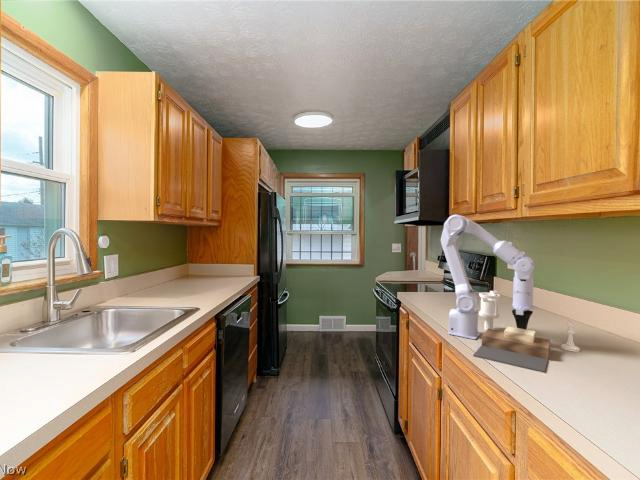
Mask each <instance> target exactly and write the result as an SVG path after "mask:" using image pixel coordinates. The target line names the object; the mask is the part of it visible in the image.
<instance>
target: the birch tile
mask: <svg viewBox="0 0 640 480" xmlns="http://www.w3.org/2000/svg"><path fill="white" fill-rule="evenodd" d="M503 331H504V337H505V338H511V339H516V340H521V341H527V342H532V343H533V342H534V340H535V337H536V331H535V330H530V329H520V328H517V327H512V326H508V325H507V326H506V328H505V329H504V330H503Z"/></svg>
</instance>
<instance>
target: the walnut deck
mask: <svg viewBox="0 0 640 480" xmlns="http://www.w3.org/2000/svg"><path fill="white" fill-rule="evenodd" d="M481 345H482V346H487V347H492V348H496V349H501V350H506V351H510V352H515V353H520V354H525V355H529V356H534V357H539V358H544V359H548V360H549V357H550V353H551V339H549V338H542V337H537V336H535V340H534V342H533V343H532V342H527V341H521V340H516V339H511V338H505V337H504V330H498V329H494V328H493V329H488V330H487V331H486V330H485V332H484V333H483V334H482V335H481Z"/></svg>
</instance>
